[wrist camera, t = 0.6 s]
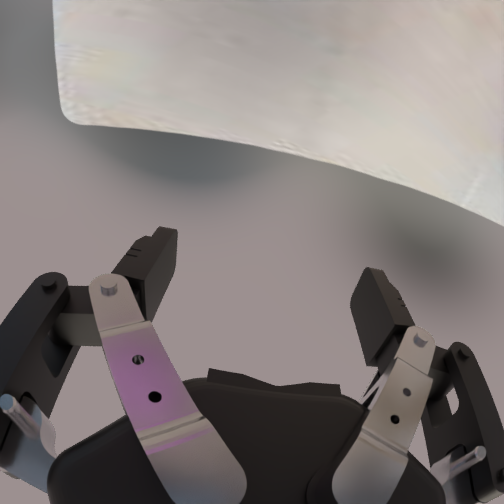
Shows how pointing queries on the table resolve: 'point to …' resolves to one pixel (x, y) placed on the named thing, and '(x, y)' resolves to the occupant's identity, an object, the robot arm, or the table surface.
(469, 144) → the table surface
